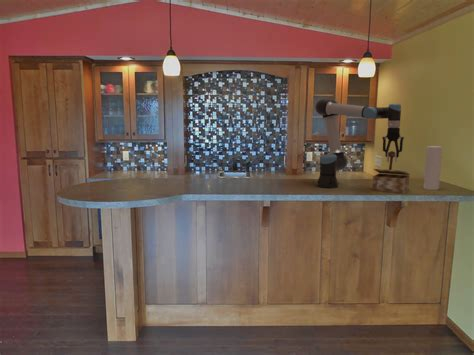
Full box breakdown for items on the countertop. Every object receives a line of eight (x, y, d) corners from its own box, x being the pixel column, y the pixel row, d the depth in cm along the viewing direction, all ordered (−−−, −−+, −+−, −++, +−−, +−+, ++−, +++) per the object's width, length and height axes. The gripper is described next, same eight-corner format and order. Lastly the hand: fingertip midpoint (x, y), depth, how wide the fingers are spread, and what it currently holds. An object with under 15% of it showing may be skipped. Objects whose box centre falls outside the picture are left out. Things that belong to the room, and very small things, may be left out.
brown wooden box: (372, 190, 239) (372, 176, 237) (378, 186, 252) (379, 173, 250) (403, 193, 227) (404, 178, 225) (408, 189, 240) (409, 175, 238)
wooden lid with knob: (373, 169, 237) (375, 149, 238) (379, 173, 250) (381, 154, 251) (405, 171, 225) (407, 150, 226) (409, 175, 238) (411, 155, 239)
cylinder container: (430, 190, 238) (433, 146, 233) (420, 187, 247) (423, 145, 242) (442, 189, 239) (445, 146, 235) (432, 187, 248) (435, 145, 244)
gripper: (378, 127, 234) (376, 161, 237) (406, 127, 224) (404, 163, 227) (381, 127, 240) (379, 160, 243) (409, 127, 229) (406, 162, 233)
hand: (391, 161), depth 235 cm, fingers closed on wooden lid with knob, 4 cm apart
